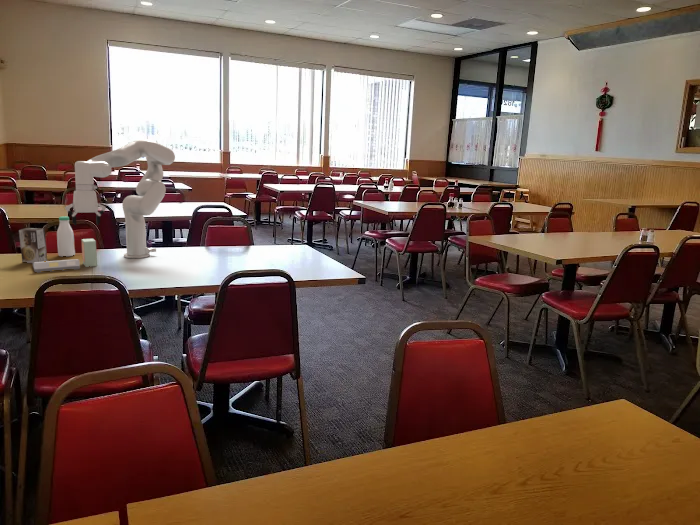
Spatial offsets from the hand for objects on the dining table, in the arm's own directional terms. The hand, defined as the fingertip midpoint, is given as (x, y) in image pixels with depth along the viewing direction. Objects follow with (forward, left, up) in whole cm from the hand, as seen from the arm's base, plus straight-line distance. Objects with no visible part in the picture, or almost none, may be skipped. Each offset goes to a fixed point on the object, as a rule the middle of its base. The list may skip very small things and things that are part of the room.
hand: (86, 224), depth 256 cm
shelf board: (+14, 0, -19) cm, 24 cm away
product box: (0, 0, -20) cm, 20 cm away
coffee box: (+22, -17, -20) cm, 34 cm away
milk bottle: (+7, -28, -20) cm, 35 cm away
